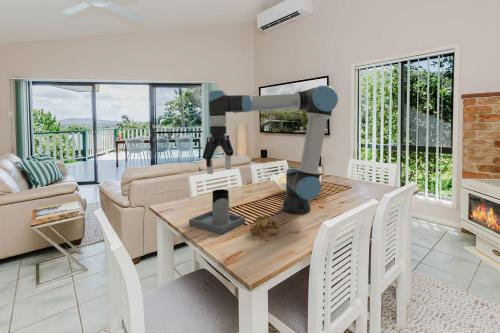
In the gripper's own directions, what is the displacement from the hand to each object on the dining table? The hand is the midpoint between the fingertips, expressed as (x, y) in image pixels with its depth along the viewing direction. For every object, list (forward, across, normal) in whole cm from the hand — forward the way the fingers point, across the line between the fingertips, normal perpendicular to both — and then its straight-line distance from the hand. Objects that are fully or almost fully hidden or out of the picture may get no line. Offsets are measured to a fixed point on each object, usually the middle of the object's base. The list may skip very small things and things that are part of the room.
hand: (219, 171), depth 139 cm
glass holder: (+24, 0, -1) cm, 24 cm away
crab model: (+26, -1, +24) cm, 35 cm away
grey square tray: (+25, +3, 0) cm, 25 cm away
